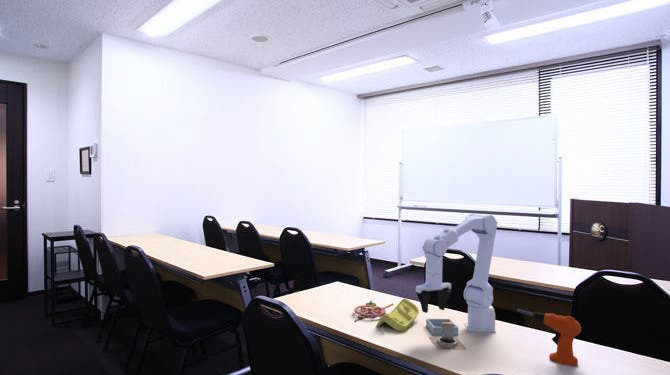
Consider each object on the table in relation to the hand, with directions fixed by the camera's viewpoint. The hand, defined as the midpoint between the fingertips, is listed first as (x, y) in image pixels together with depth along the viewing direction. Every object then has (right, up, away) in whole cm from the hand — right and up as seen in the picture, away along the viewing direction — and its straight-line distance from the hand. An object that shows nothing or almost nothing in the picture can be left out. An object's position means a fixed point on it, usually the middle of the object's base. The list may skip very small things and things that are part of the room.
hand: (433, 310), depth 134 cm
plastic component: (-9, -10, +15) cm, 20 cm away
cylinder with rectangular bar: (+4, -10, -5) cm, 11 cm away
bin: (+5, -10, +7) cm, 13 cm away
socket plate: (+4, -10, -5) cm, 12 cm away
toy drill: (+33, -11, -14) cm, 37 cm away
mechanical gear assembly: (-18, -11, +27) cm, 34 cm away
